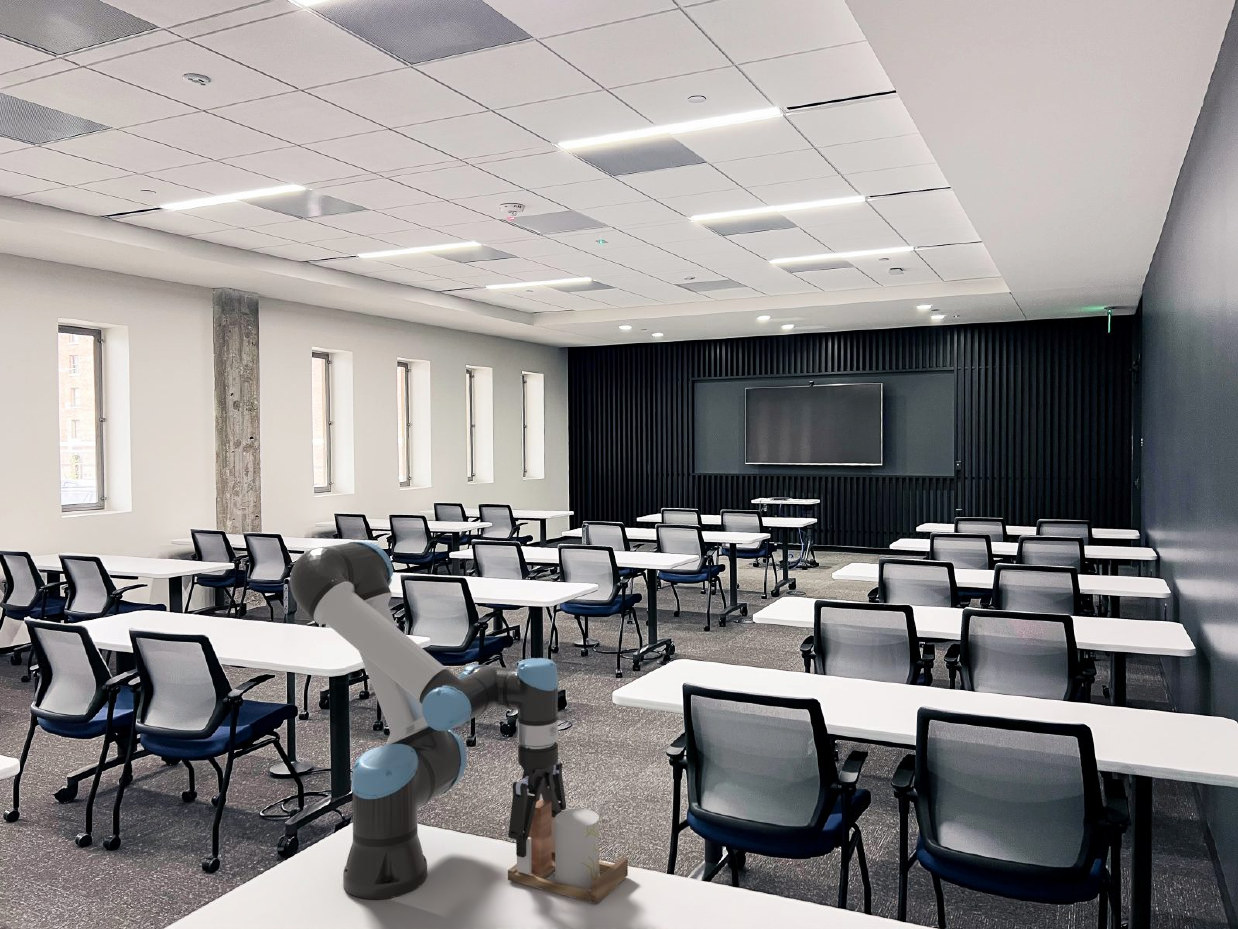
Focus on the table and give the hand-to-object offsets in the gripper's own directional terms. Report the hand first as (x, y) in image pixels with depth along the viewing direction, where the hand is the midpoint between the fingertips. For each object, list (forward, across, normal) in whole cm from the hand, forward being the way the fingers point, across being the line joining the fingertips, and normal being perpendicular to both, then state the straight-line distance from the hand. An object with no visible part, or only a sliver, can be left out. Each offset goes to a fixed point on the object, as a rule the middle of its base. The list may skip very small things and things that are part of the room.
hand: (538, 861), depth 169 cm
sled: (+2, 0, -6) cm, 7 cm away
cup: (+2, 0, -8) cm, 9 cm away
